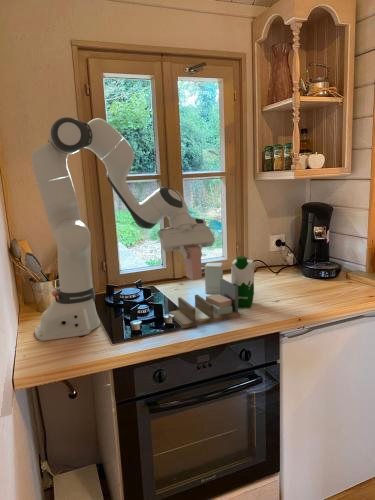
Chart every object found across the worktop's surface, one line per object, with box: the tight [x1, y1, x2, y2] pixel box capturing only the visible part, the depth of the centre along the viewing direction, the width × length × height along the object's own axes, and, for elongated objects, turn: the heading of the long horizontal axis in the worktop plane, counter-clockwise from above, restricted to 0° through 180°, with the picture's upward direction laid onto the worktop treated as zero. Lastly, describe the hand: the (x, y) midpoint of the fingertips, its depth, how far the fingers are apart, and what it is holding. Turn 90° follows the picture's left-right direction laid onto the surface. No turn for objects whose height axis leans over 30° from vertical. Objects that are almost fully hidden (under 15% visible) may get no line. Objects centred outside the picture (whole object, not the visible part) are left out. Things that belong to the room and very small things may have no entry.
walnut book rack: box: [168, 294, 241, 329], centre depth 142 cm, size 23×14×6 cm, turn 113°
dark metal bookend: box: [219, 279, 239, 313], centre depth 145 cm, size 1×12×10 cm, turn 22°
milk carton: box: [230, 256, 255, 309], centre depth 151 cm, size 9×9×20 cm
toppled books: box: [205, 294, 232, 315], centre depth 144 cm, size 7×10×4 cm, turn 23°
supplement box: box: [204, 262, 224, 295], centre depth 171 cm, size 7×7×13 cm
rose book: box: [184, 247, 203, 281], centre depth 137 cm, size 4×6×11 cm, turn 23°
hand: (193, 257), depth 136 cm, fingers closed on rose book, 3 cm apart
